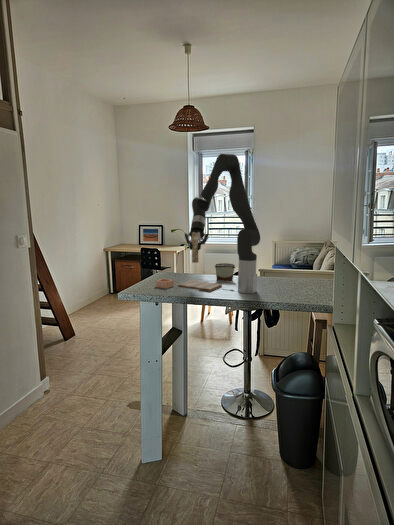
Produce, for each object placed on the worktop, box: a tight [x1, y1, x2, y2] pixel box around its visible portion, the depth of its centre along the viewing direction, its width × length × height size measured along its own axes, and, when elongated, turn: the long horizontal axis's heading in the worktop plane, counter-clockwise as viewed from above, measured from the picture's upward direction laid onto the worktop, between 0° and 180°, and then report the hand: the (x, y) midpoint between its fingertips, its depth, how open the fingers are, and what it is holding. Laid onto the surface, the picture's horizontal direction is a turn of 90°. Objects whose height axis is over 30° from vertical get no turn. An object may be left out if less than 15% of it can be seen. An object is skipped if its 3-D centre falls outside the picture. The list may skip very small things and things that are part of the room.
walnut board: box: [177, 279, 223, 293], centre depth 196 cm, size 20×14×2 cm
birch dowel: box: [191, 233, 199, 264], centre depth 192 cm, size 4×4×16 cm
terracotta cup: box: [155, 278, 175, 289], centre depth 194 cm, size 7×7×4 cm
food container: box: [214, 262, 236, 282], centre depth 214 cm, size 12×6×10 cm, turn 84°
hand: (194, 249), depth 190 cm, fingers closed on birch dowel, 3 cm apart
